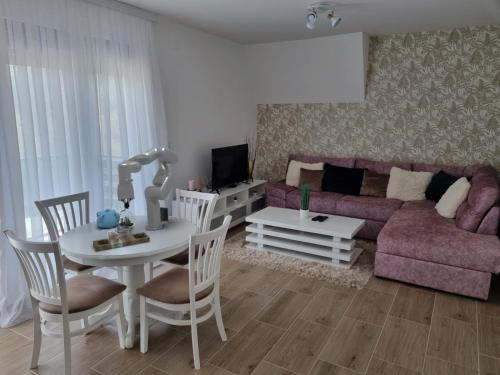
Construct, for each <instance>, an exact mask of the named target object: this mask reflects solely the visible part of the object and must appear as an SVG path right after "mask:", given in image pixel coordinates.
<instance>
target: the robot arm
mask: <svg viewBox="0 0 500 375" xmlns="http://www.w3.org/2000/svg"><path fill="white" fill-rule="evenodd" d="M179 159H180V158H179V155H178V153H177V152H175V151H174V150H172V149H170V148H168V147H166V146H153V147H151V148H150V149H148V150H146V151H145V152H143V153H140V154H136V155H132V156H130V157H127V158H126V159H124V160H123V161H122V162H120V163H118V164H117V169H118V170H117V171H118V184H117V188H116V191H117V192H116V193H117V202H122V203H123V207H124V208H125V209H126V210H129V209H130V203H131V202H132V200H135V190H134V185H133V182H134V179H132V178H131V177H132V175H131V174H137V173H139V172H141V170H142V166H146V165H150V164H151V163H153V162H154V161H156V160H157V162H158V170H157V171H156V174H155V175H154V176H153V179H152V185H148V186H146V187H145V189H144V191H143V192H144V193H143V194H144V198H145V202H146V218H147V219H146V220H147V221H146V222H147V225H146V226H145V229H146V230H147V231H148V230H149V231H157V230H161V229H164V225H167V224H168V221H165V222H164V221H161V217H160V207H161V204H160V201H164V200H166V199H167V198H168V196H169V194H170V192H171V190H172V188H173V186H174V182H175V181H174V178H173V175H170V167H169V165H170V164H171V165H176V164H177V163H178V162H179Z"/></svg>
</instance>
